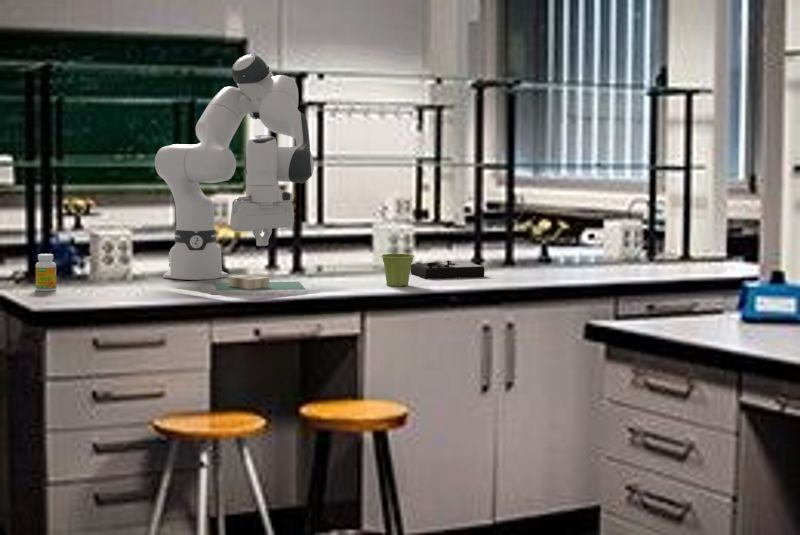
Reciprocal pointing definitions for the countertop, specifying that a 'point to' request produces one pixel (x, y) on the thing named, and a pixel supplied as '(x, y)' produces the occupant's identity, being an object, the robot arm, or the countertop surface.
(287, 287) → the green mat
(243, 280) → the brown wood block
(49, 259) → the supplement bottle
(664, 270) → the countertop surface
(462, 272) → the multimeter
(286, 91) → the robot arm
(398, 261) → the plant pot
